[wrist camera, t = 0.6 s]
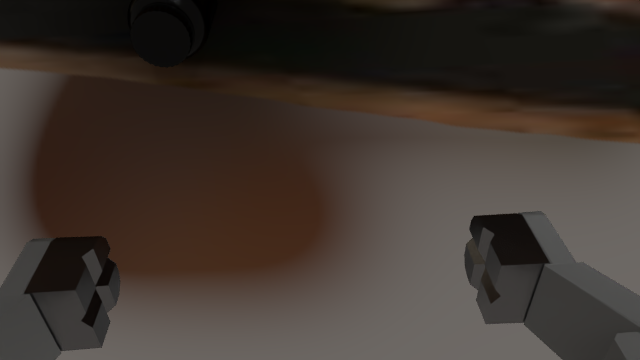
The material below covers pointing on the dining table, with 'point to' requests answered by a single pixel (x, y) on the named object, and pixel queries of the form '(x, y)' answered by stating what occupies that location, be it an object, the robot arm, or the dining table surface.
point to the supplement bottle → (169, 29)
